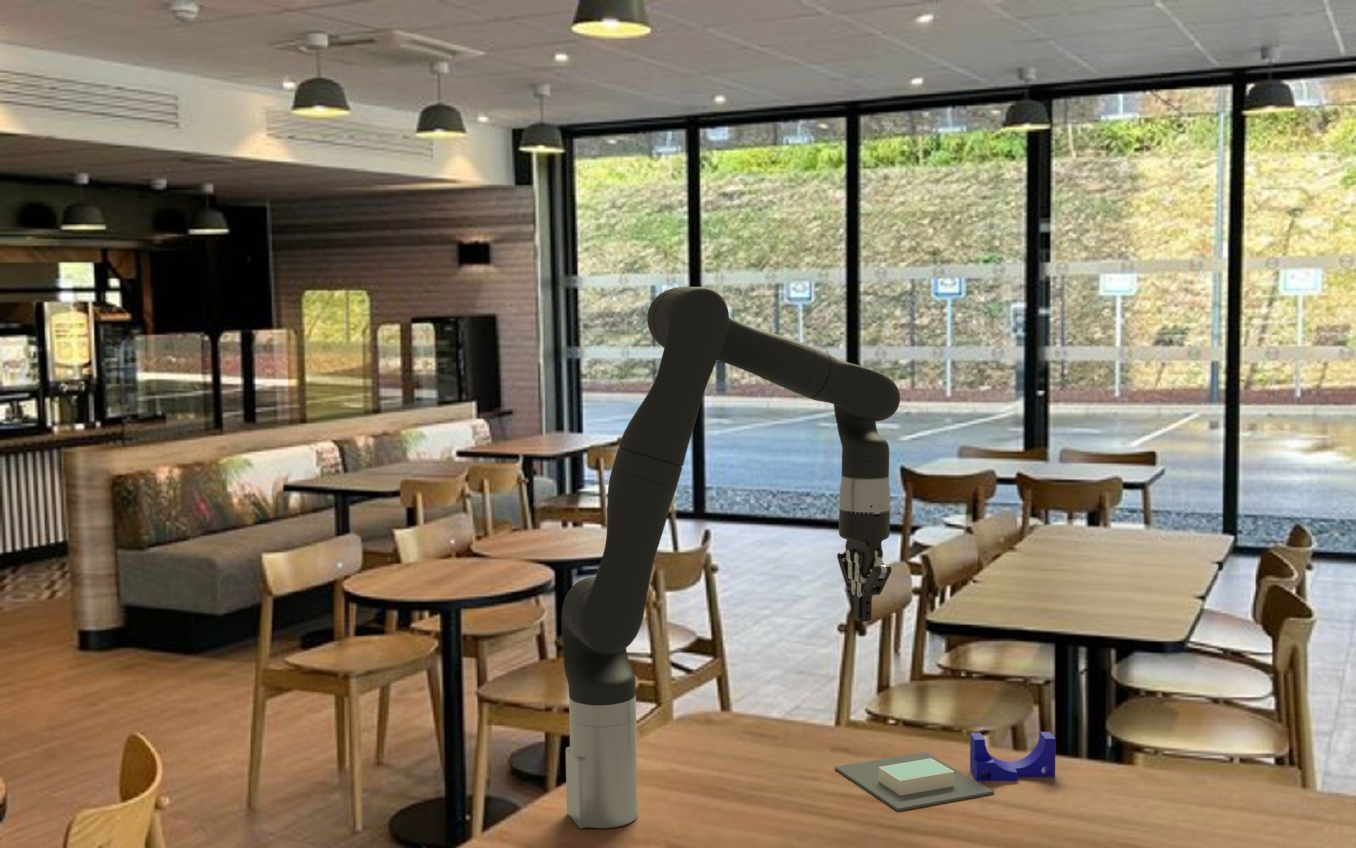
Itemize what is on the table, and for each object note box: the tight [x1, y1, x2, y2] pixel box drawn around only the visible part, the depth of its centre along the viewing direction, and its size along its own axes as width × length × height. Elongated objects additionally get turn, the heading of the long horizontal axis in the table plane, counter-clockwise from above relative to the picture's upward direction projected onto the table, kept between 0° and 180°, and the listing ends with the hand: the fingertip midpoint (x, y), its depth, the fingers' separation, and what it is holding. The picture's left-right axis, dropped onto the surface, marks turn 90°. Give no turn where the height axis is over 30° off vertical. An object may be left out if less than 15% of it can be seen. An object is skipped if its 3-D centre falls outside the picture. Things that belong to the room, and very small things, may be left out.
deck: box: [879, 758, 954, 796], centre depth 193 cm, size 9×2×6 cm
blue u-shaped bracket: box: [969, 731, 1057, 782], centre depth 197 cm, size 12×4×6 cm, turn 90°
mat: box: [834, 751, 995, 812], centre depth 195 cm, size 16×18×1 cm
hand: (862, 620), depth 198 cm, fingers closed
